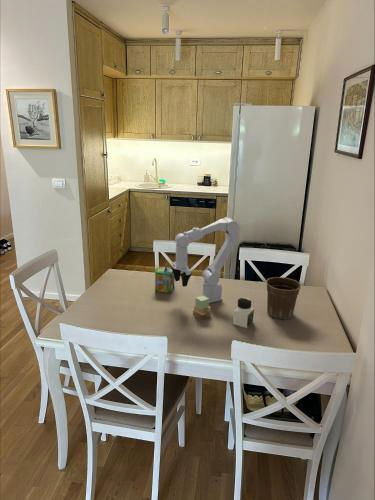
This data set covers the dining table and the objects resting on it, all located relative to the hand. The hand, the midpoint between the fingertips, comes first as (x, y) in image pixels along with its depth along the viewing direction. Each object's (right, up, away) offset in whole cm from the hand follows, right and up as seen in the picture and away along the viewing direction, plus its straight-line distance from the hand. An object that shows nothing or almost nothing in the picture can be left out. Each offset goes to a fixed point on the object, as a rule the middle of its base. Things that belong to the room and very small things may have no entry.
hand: (181, 283), depth 184 cm
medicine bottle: (+29, -17, -16) cm, 37 cm away
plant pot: (+48, -14, -6) cm, 51 cm away
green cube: (+10, -10, -11) cm, 18 cm away
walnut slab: (+10, -15, -10) cm, 20 cm away
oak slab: (+10, -12, -10) cm, 19 cm away
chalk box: (-9, -5, +18) cm, 21 cm away
